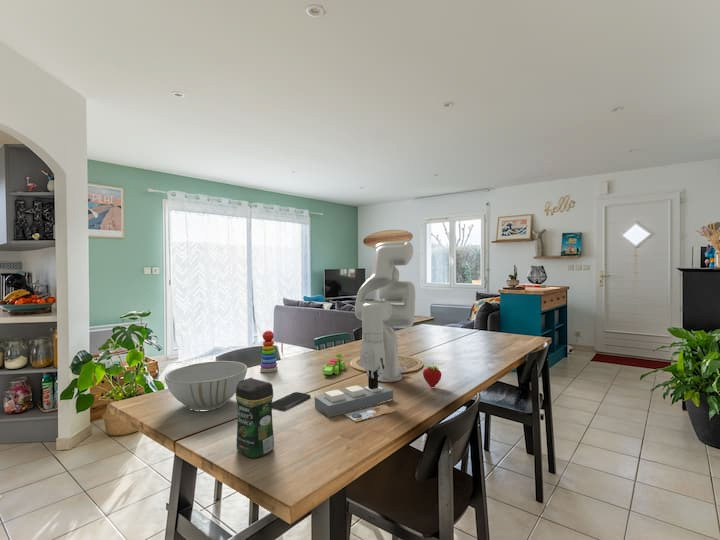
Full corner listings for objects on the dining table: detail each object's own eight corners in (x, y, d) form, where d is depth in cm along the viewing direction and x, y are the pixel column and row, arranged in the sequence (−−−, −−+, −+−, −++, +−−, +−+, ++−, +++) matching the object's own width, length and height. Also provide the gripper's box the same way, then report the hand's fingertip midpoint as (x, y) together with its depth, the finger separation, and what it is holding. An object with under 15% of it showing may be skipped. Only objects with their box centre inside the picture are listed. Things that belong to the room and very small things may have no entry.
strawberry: (426, 383, 149) (426, 359, 149) (444, 387, 145) (444, 362, 145) (420, 388, 145) (419, 362, 144) (438, 391, 140) (437, 365, 140)
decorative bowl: (210, 425, 113) (210, 386, 113) (146, 414, 122) (145, 378, 122) (262, 396, 138) (262, 363, 138) (206, 388, 147) (205, 358, 147)
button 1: (337, 399, 128) (337, 389, 128) (344, 403, 124) (344, 393, 124) (324, 402, 125) (324, 392, 125) (331, 407, 121) (331, 396, 121)
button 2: (375, 393, 137) (375, 384, 137) (383, 397, 132) (383, 388, 132) (364, 396, 134) (363, 387, 134) (371, 400, 130) (371, 390, 130)
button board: (376, 392, 140) (376, 383, 140) (393, 400, 132) (393, 390, 132) (314, 407, 126) (314, 396, 126) (328, 417, 118) (328, 405, 118)
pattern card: (384, 404, 128) (384, 403, 128) (397, 411, 122) (397, 409, 122) (344, 415, 119) (344, 413, 119) (356, 422, 113) (356, 421, 113)
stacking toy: (281, 369, 173) (280, 330, 173) (268, 374, 166) (268, 332, 166) (269, 367, 177) (268, 328, 177) (256, 371, 170) (255, 331, 170)
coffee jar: (231, 451, 97) (230, 380, 96) (256, 439, 103) (255, 373, 103) (254, 462, 91) (253, 387, 91) (279, 449, 97) (278, 379, 97)
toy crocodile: (332, 378, 159) (332, 364, 159) (318, 377, 161) (318, 363, 161) (348, 366, 178) (347, 354, 178) (335, 365, 180) (335, 353, 180)
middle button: (357, 394, 132) (356, 385, 132) (364, 398, 128) (364, 388, 128) (345, 397, 130) (344, 387, 130) (352, 402, 125) (352, 391, 125)
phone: (311, 395, 136) (283, 408, 123) (311, 398, 136) (284, 412, 123) (295, 391, 140) (266, 404, 127) (295, 394, 140) (266, 407, 127)
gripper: (352, 335, 137) (353, 384, 137) (376, 341, 125) (376, 395, 125) (369, 333, 141) (370, 381, 141) (393, 339, 129) (394, 391, 129)
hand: (373, 387), depth 133 cm, fingers closed
